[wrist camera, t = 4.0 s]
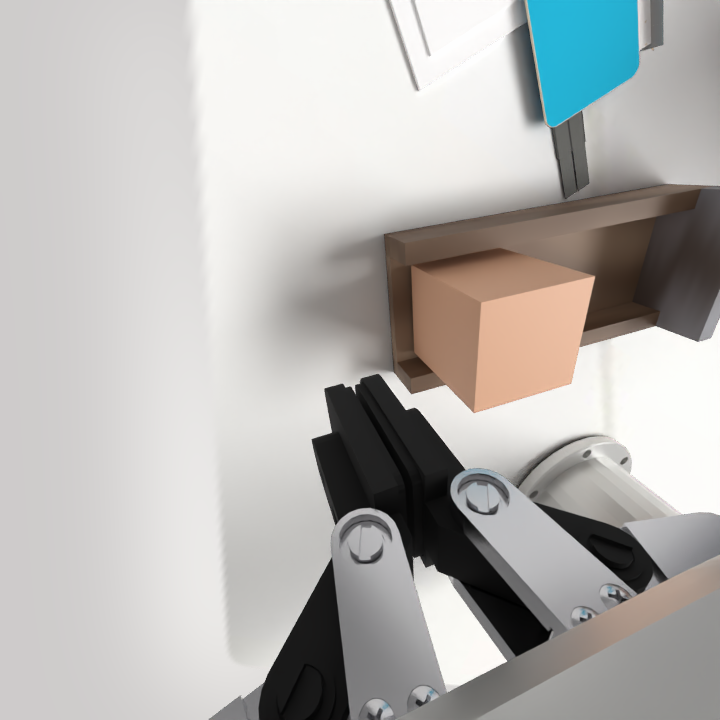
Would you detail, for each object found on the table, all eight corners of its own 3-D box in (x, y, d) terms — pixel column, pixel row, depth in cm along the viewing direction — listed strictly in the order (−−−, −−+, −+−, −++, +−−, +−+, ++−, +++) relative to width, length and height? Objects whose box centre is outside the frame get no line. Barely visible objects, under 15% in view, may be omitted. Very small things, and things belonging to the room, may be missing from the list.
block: (491, 332, 21) (571, 383, 16) (414, 352, 20) (474, 413, 15) (498, 247, 19) (595, 275, 14) (411, 264, 18) (481, 302, 13)
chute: (631, 309, 25) (711, 337, 21) (394, 372, 22) (432, 421, 17) (667, 184, 21) (774, 188, 17) (384, 234, 18) (431, 254, 13)
